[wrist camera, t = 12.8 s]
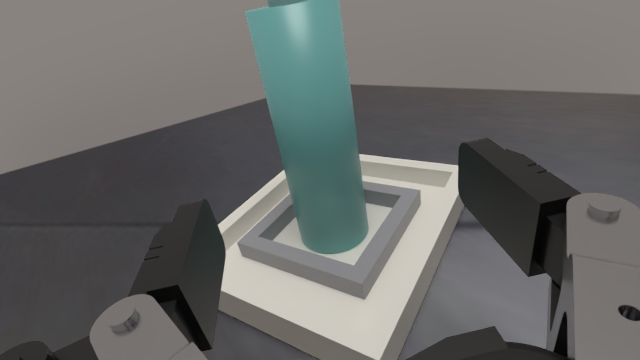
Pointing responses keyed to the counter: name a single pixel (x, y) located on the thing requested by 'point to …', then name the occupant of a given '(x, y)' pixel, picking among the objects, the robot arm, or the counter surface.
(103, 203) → the counter surface
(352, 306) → the tray
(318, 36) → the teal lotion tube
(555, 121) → the counter surface
